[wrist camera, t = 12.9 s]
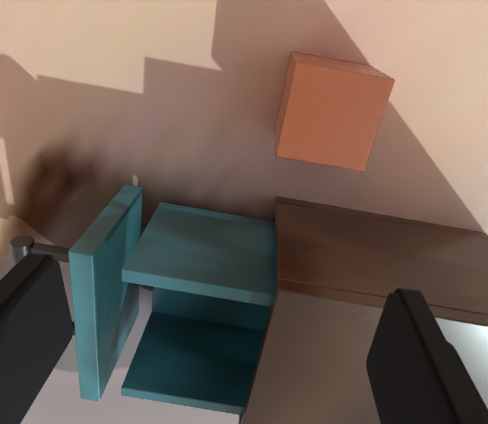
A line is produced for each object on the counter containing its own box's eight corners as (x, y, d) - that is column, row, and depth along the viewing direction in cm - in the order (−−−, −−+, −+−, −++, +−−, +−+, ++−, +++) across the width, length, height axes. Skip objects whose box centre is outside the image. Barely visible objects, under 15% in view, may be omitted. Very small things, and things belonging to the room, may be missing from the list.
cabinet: (246, 327, 31) (236, 445, 23) (276, 196, 25) (278, 289, 17) (415, 356, 32) (467, 483, 23) (486, 233, 25) (591, 343, 17)
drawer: (65, 300, 30) (3, 386, 23) (52, 170, 24) (-34, 233, 18) (288, 338, 30) (292, 434, 23) (325, 218, 25) (345, 299, 18)
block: (291, 51, 21) (296, 61, 17) (372, 66, 21) (395, 79, 17) (275, 130, 23) (275, 156, 19) (347, 143, 23) (363, 172, 19)
